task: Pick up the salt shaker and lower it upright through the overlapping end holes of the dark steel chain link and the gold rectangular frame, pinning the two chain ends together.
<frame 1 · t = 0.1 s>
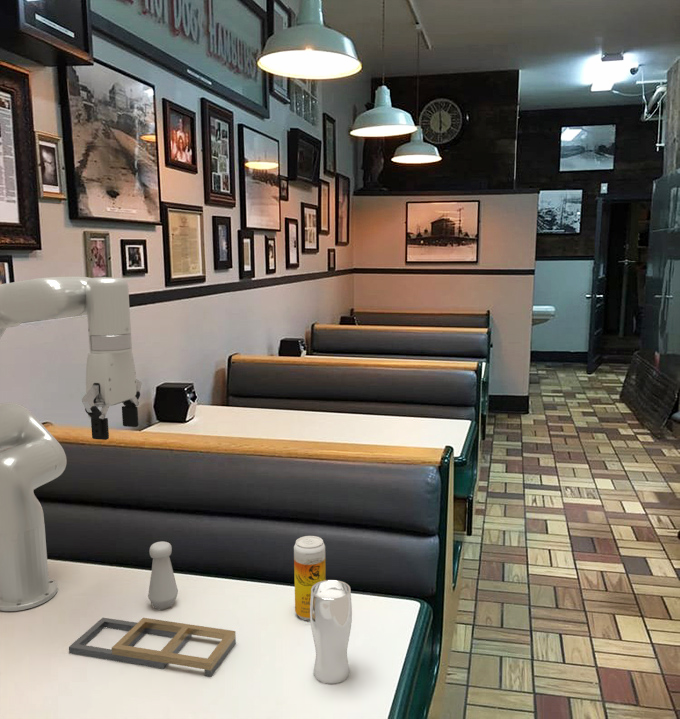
hand: (116, 432, 123), 37 cm above the table, tool pointing down, fingers open, 9 cm apart
salt shaker: (163, 605, 131), on the table
beer can: (310, 614, 127), on the table
steel chain link: (153, 648, 116), on the table
gold rectangular frame: (153, 648, 116), on the table
beer glass: (331, 673, 108), on the table
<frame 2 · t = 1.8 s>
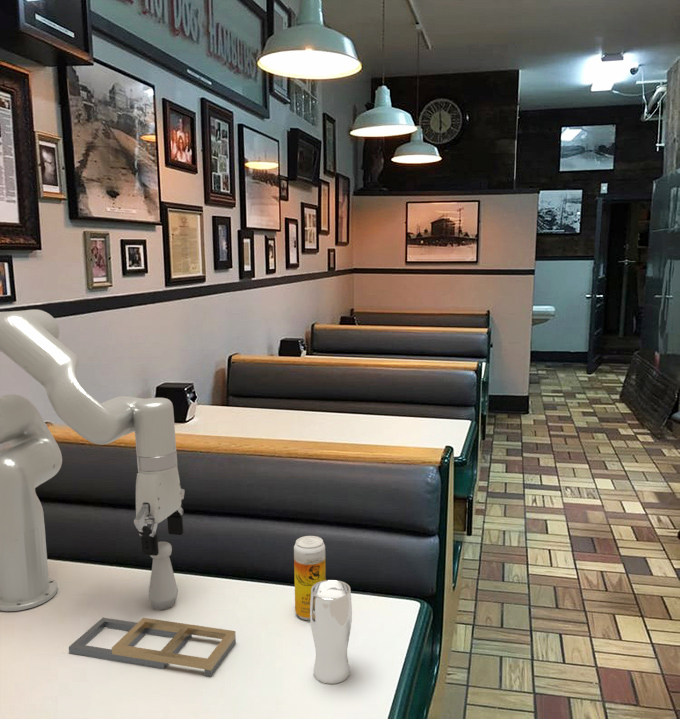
hand: (163, 543, 129), 13 cm above the table, tool pointing down, fingers open, 9 cm apart
nothing on the table moved.
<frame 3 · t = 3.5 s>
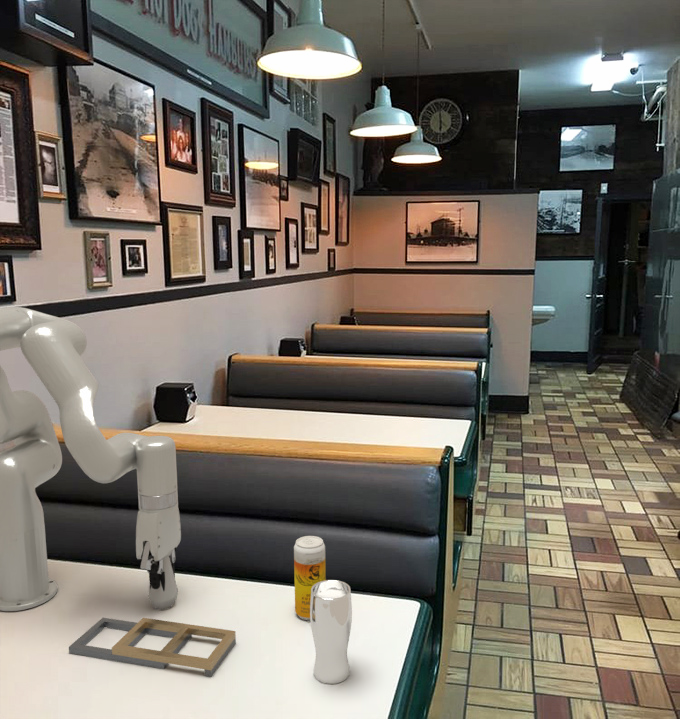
hand: (162, 585, 130), 4 cm above the table, tool pointing down, fingers closed on salt shaker, 3 cm apart
salt shaker: (163, 605, 131), on the table, touching gripper
everything else where it was.
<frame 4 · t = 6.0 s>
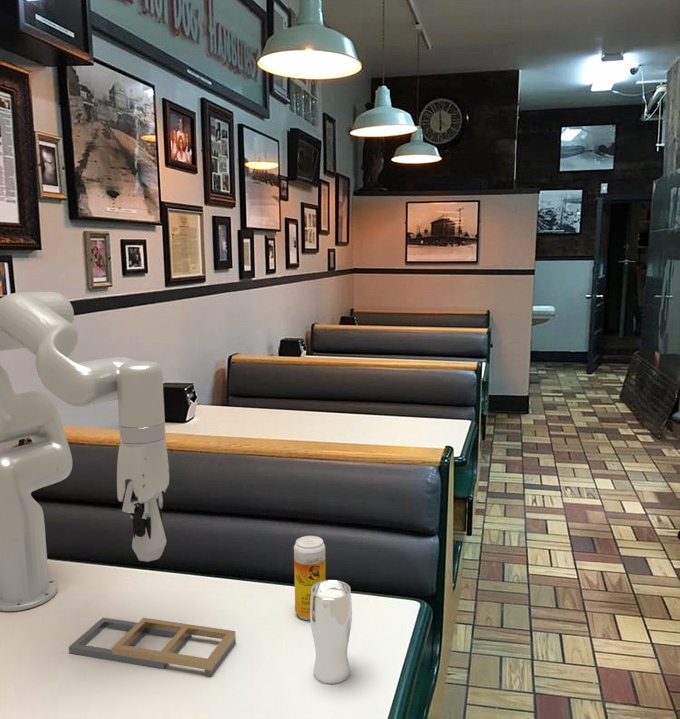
hand: (148, 533, 113), 21 cm above the table, tool pointing down, fingers closed on salt shaker, 3 cm apart
salt shaker: (150, 557, 114), point 17 cm above the table, touching gripper
everything else where it was.
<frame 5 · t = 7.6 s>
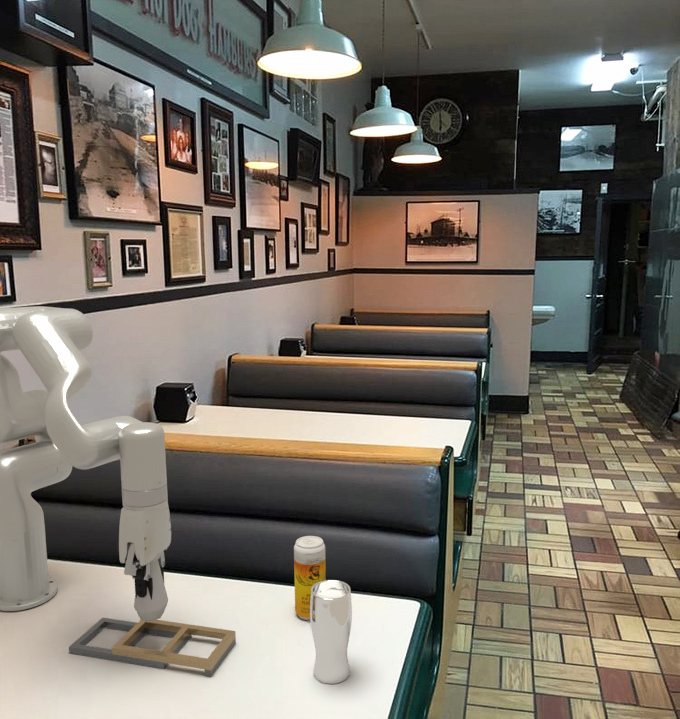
hand: (150, 592, 114), 11 cm above the table, tool pointing down, fingers closed on salt shaker, 3 cm apart
salt shaker: (151, 616, 115), point 6 cm above the table, touching gripper
everything else where it was.
when the fingers open (6 cm above the table, at t = 8.8 s): salt shaker drops 1 cm, resting in gold rectangular frame.
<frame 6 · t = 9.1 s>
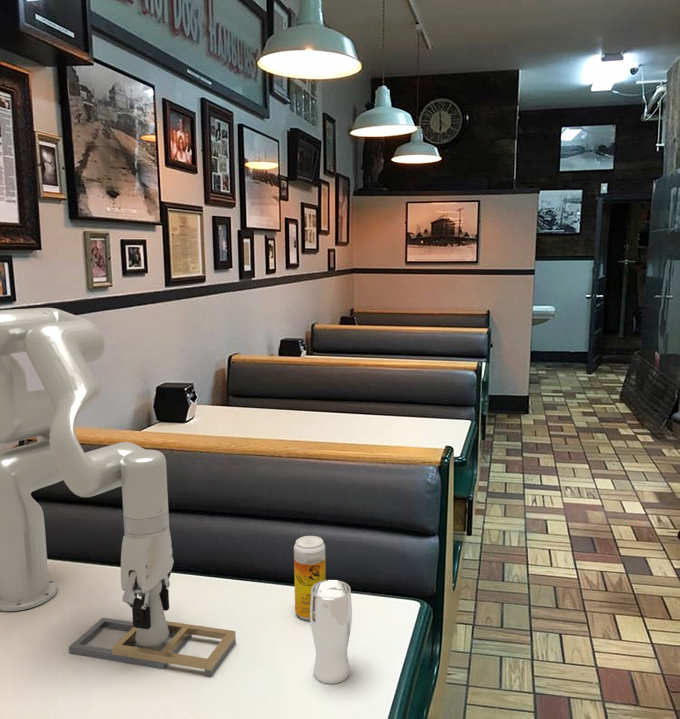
hand: (151, 617, 115), 6 cm above the table, tool pointing down, fingers open, 5 cm apart
salt shaker: (153, 649, 116), resting in gold rectangular frame
everything else where it was.
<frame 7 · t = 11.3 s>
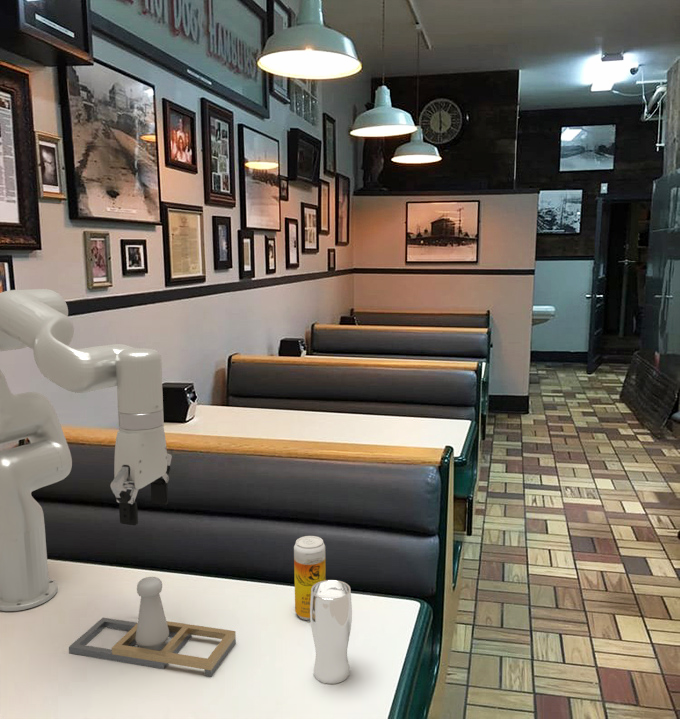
hand: (145, 513, 114), 24 cm above the table, tool pointing down, fingers open, 9 cm apart
nothing on the table moved.
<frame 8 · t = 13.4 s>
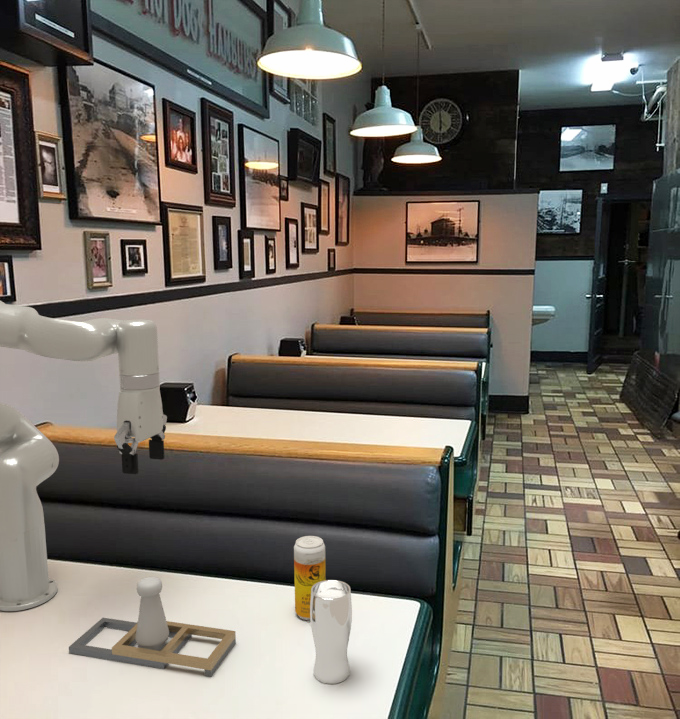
hand: (144, 465, 129), 28 cm above the table, tool pointing down, fingers open, 9 cm apart
nothing on the table moved.
at the end: salt shaker 0.1 cm off-centre on the gold rectangular frame, point 0.0 cm above the gold rectangular frame's base; salt shaker tilted 0°; the gripper is holding nothing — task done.
